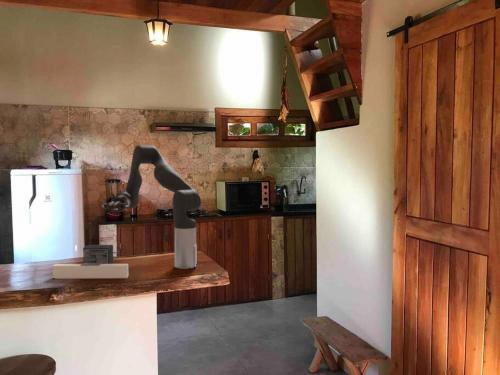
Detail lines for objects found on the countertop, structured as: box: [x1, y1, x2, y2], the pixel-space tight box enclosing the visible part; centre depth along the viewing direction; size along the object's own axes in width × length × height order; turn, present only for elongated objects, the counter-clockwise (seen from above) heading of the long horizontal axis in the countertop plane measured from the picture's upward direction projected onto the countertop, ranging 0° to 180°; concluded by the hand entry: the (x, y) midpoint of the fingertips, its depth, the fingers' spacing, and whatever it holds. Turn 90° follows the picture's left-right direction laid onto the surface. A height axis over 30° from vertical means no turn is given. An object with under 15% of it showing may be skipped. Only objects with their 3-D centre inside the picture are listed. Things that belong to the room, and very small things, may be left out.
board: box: [52, 262, 130, 280], centre depth 152 cm, size 28×3×5 cm, turn 94°
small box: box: [82, 244, 114, 264], centre depth 162 cm, size 11×6×10 cm, turn 94°
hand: (110, 208), depth 177 cm, fingers closed
